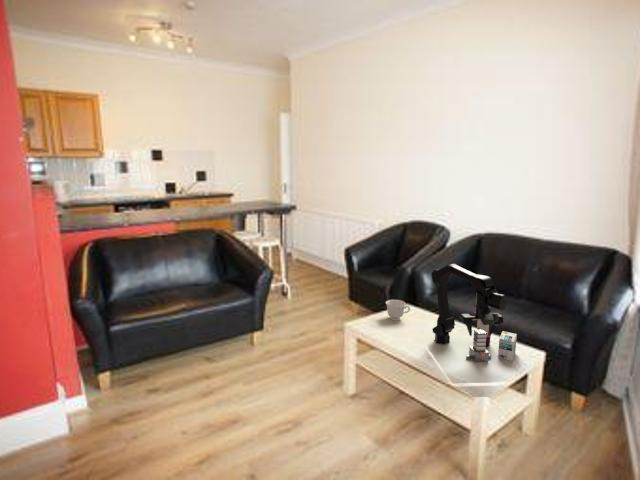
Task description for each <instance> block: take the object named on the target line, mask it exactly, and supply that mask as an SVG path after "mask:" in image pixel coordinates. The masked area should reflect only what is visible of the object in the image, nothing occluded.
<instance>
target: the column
mask: <svg viewBox="0 0 640 480" xmlns="http://www.w3.org/2000/svg"><path fill="white" fill-rule="evenodd" d="M486 335H487V333H486V332H485V331H484V330H477V329H474V330H473V341H472V346H473V349H474V350H475V351H476V352H485V351H486V350H487V347H486V338H487V337H486Z"/></svg>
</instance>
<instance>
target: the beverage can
mask: <svg viewBox="0 0 640 480" xmlns="http://www.w3.org/2000/svg"><path fill="white" fill-rule="evenodd" d="M476 324H477V325H476V330H484V331H485V332H486V333H487V335H486V337H487V338H486V347H485V348H489V347H490V346H491V336H492V335H491V336H490V335H489V325H483V323H482V321H481V320H477V322H476Z"/></svg>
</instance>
